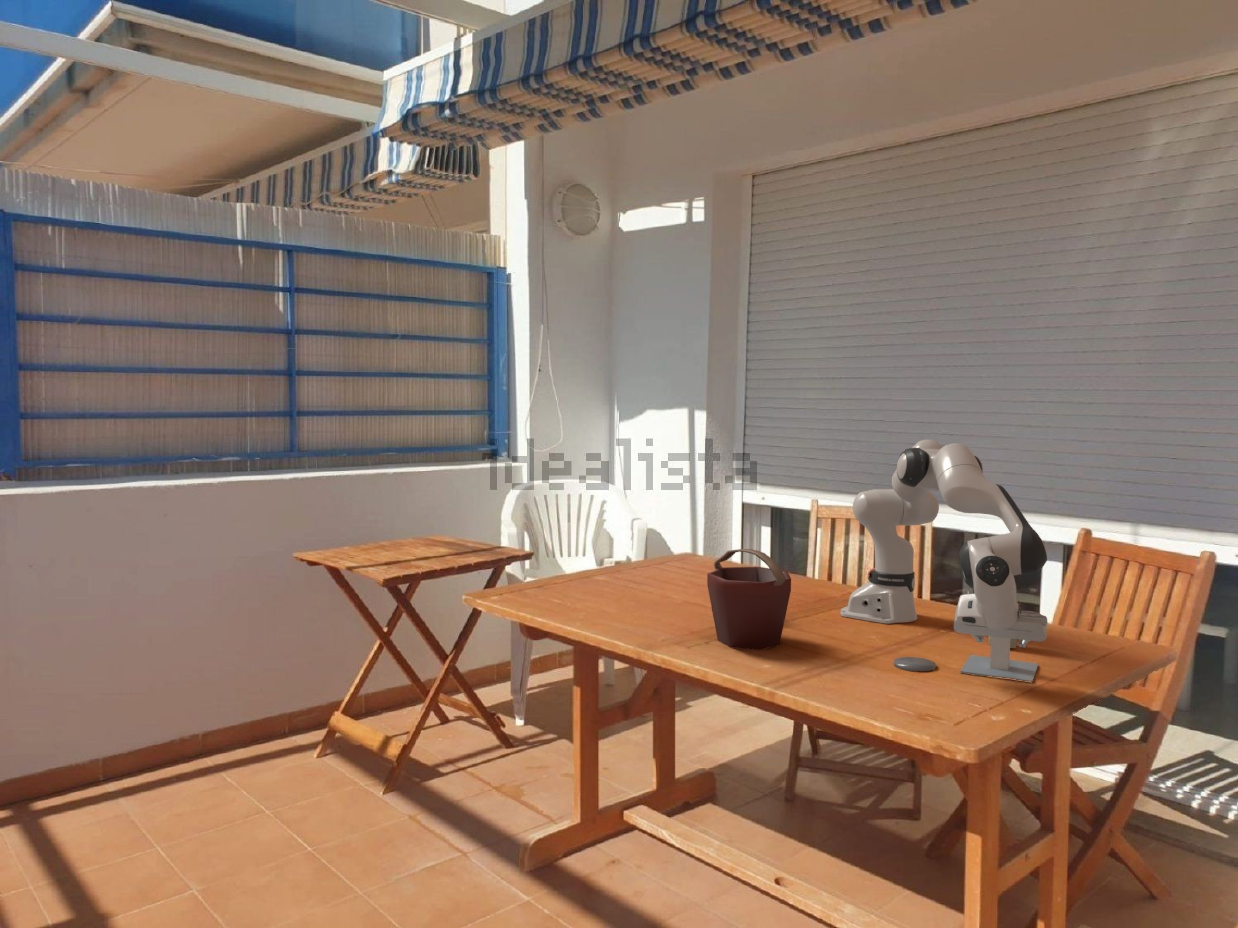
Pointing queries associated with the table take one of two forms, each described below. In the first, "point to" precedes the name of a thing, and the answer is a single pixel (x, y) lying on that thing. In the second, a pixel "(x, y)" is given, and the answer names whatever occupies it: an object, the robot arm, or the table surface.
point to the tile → (1015, 670)
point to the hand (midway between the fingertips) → (1001, 642)
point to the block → (1000, 653)
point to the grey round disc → (914, 664)
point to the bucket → (749, 602)
